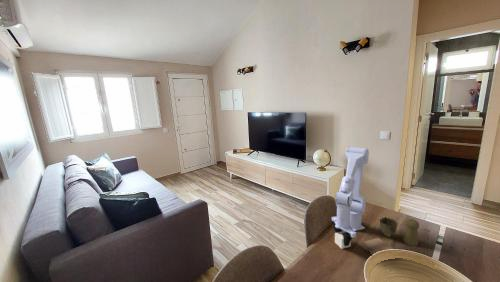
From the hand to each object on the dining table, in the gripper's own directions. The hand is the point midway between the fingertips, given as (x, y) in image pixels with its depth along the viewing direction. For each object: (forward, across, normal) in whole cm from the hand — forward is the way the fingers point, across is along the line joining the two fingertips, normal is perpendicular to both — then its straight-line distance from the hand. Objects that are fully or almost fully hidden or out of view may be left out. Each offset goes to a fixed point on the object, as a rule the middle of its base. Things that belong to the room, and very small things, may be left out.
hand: (342, 241), depth 102 cm
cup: (+2, +2, +25) cm, 25 cm away
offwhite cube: (+1, 0, 0) cm, 1 cm away
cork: (+2, +9, +31) cm, 32 cm away
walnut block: (+2, +9, +12) cm, 15 cm away
